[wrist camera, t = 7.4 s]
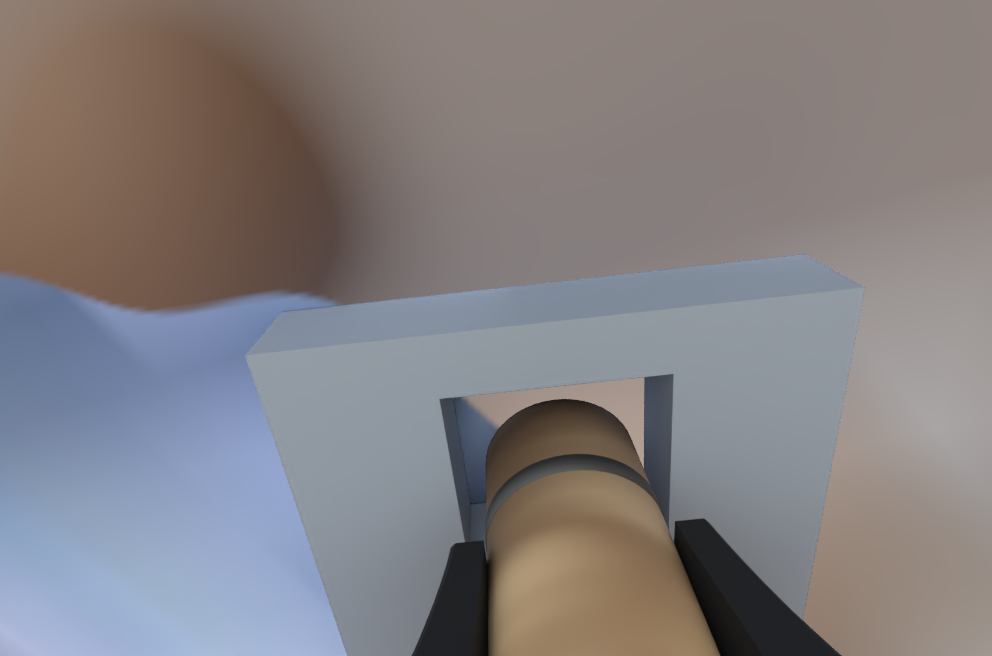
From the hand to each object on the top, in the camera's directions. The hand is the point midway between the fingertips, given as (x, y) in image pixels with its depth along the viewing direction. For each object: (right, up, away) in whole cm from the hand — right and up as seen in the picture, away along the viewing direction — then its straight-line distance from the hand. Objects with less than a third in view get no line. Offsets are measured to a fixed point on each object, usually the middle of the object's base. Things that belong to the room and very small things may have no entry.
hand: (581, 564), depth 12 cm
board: (0, -2, +7) cm, 7 cm away
